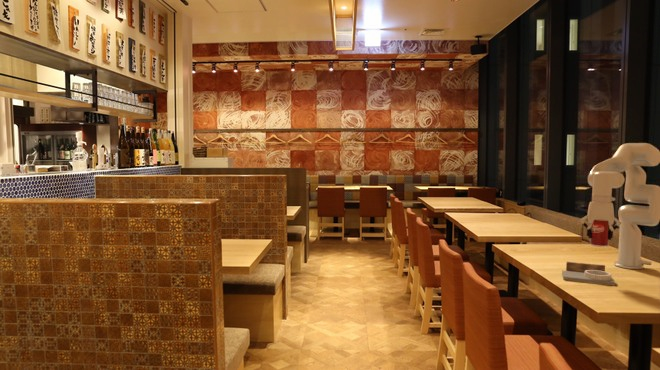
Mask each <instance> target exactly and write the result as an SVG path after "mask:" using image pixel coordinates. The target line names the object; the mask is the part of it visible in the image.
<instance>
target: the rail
mask: <svg viewBox="0 0 660 370" xmlns="http://www.w3.org/2000/svg"><path fill="white" fill-rule="evenodd" d="M565 263H566V266H565V267H566V268H565V271H572V272H582V273H584V272H585V271H586V270H599V271H604V272H606V265H605V264H594V263H585V262H575V261H566V262H565Z"/></svg>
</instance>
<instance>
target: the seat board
mask: <svg viewBox="0 0 660 370" xmlns="http://www.w3.org/2000/svg"><path fill="white" fill-rule="evenodd" d="M561 274H562V279H563V281H569V282H570V281H571V282H579V283H587V284H596V285H598V284H599V285H607V286H616V282H615V280H614V278H613V276H612V273H610V272H607V271H605V272H604V271H599V270H586V271H585V272H584V273H582V272H572V271H566V270H561Z"/></svg>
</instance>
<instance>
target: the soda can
mask: <svg viewBox="0 0 660 370" xmlns="http://www.w3.org/2000/svg"><path fill="white" fill-rule="evenodd" d="M609 241H610V240H609V221H607V220H596V219H595V220H594V221H593V224H592V226H591V238H589V244H590V245H591V246H593V247H600V248H607V247H609Z"/></svg>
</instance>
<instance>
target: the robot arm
mask: <svg viewBox="0 0 660 370" xmlns="http://www.w3.org/2000/svg"><path fill="white" fill-rule="evenodd" d="M659 164H660V150H659V149H658V148H657V147H656V146H654V145H652V144H651V143H647V142H637V143H636V142H628V143H623V144H621V145H620V146H619V147H618V148H617V150H616V152H614V154H613V155H612V157H610V158H608V159H605V160H604V161H601V162H599V163H597V164H596V165H594V166H593V167H592V169H591V170H590V172H589V173H588V175H587V183H588V185H589V186H590V187H592V190H591V191H592V193H591V201H590V202H589V204H588V209H587V215H585V216H584V217H582V218H580V219H579V222H580V223H581V224H582V225H583V226H584V228H586V237H588V239H590V238H591V226H592V224H593V221H594V220H595V219H596V220H607V221H609V241H611V240H612V239H613V237H614V236H613V235H614V231H615V230H617V229H619V233H618V235H619V237H618V253H617V261H614V262H613V265H614V266H616V267H619V268H622V269H629V270H643V269H644V265H647V266H652V261H651V260H644V259H642V258H641V253H642V251H641V250H642V238H643V237H642V235H643V233H642V231H641V229H640V227H638V225H640V226H648V227H655V226H657V225H659V223H660V186H659V185H656V184H646V182H647V173H646V171H645V170H644V169H643V168H642V167H655V166H658V165H659ZM623 172H625V176H624V174H623ZM624 183H625V184H624ZM623 185H624V193H623V195H624V199H625V201H627V202H629V203H635V204H625V205H621V206H620V207H619V208H618V210H617V211H618V218H616V217H615V210H614V209H615V208H614V204H613V202H614V201H616V197H613V196H612V194H613V189H619V188H621V187H622V186H623ZM636 204H647V206H646V205H636ZM586 221H587V223H588V224H587V223H586ZM614 222H615V223H616V224H615V225H614ZM618 227H619V228H618Z"/></svg>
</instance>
